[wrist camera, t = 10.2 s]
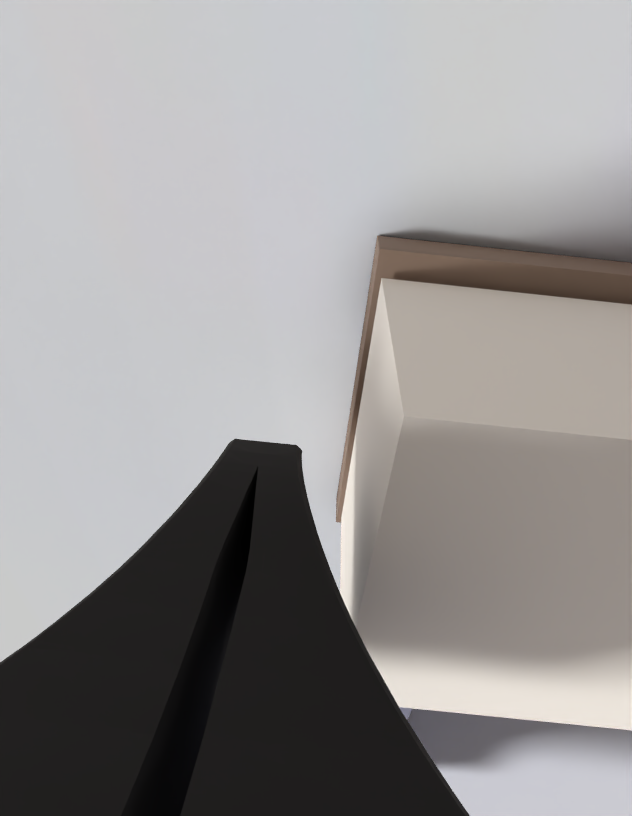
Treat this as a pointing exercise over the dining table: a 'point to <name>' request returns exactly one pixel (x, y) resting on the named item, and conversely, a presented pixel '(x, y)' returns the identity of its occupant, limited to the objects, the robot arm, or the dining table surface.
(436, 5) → the dining table surface
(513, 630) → the bookend
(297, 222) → the dining table surface
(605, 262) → the rack
